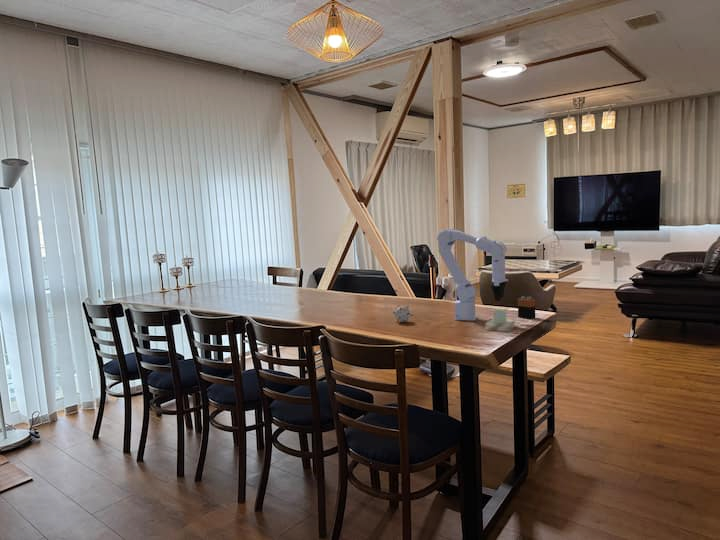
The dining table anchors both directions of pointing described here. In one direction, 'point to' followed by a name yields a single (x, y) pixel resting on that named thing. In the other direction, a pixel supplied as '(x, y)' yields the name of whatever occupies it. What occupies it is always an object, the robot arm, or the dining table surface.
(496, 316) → the mint block
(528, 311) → the battery
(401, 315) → the grey spiky ball
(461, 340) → the dining table surface
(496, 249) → the robot arm
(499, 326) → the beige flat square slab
